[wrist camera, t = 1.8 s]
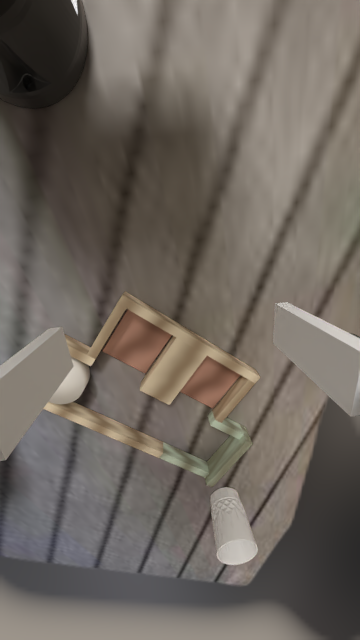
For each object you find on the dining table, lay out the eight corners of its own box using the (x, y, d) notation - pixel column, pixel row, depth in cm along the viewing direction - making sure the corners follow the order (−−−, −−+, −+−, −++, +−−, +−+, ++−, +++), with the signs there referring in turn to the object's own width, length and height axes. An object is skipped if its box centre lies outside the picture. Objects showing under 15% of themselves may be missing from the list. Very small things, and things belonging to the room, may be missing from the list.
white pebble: (35, 378, 40) (23, 391, 36) (54, 343, 38) (44, 352, 34) (78, 398, 41) (70, 411, 38) (98, 365, 40) (92, 376, 36)
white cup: (202, 491, 51) (211, 548, 42) (235, 480, 51) (251, 534, 41) (213, 512, 54) (224, 569, 44) (245, 501, 53) (262, 557, 44)
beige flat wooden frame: (29, 389, 40) (15, 405, 36) (92, 272, 34) (83, 275, 30) (208, 468, 49) (212, 487, 45) (282, 386, 43) (294, 399, 40)
